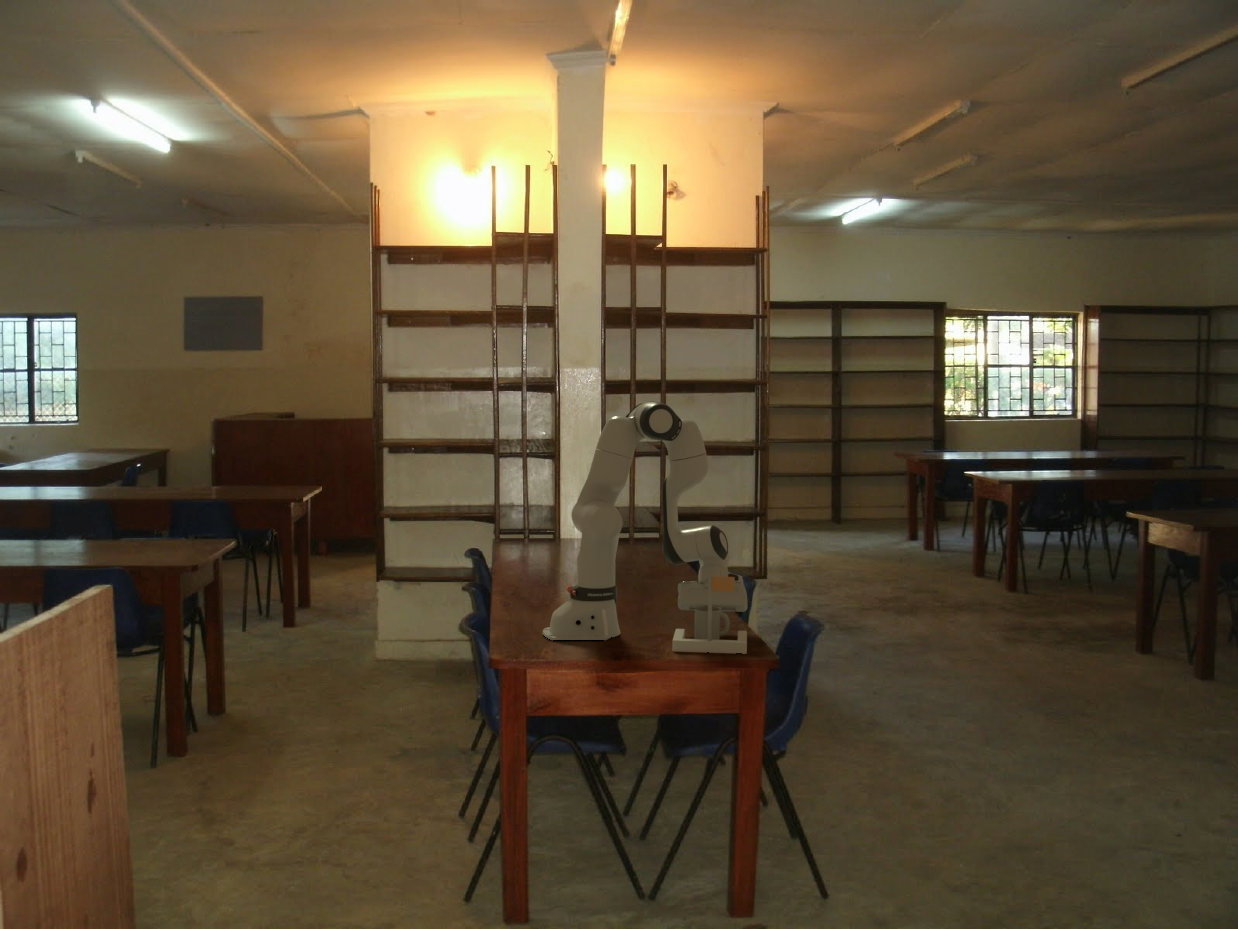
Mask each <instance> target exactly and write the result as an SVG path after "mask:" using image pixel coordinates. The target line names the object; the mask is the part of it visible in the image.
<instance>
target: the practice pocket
mask: <svg viewBox="0 0 1238 929" xmlns="http://www.w3.org/2000/svg"><path fill="white" fill-rule="evenodd" d="M734 586H735V577H714V576H712V574H709V575H708V639H695V638H685V637H686V629H685V628H675V631H674V633H673V638H672V642H671V644H672V645H671V646H672V648H671V650H672V652H681V653H705V654H706V653H707V652H709V653H710V654H712V653H713V654H736V653H742V655H743V654H744V655H746V654H747V653H748V652H747V650H748V649H747V648H748V647H747V646H748V631H747V630H738V631H737V639H736V640H735V639H733V640H732V639H719V640H712V591H715V592H734ZM707 654H708V653H707Z"/></svg>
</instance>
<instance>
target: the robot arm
mask: <svg viewBox="0 0 1238 929" xmlns="http://www.w3.org/2000/svg"><path fill="white" fill-rule="evenodd" d="M604 424H605V425H604V426H603V429H602V430H601V433H600V436H599V438H598V441H597V444H596V447H595V451H594V454H593V457H592V460H591V461H592V462H591V465H590V468H589V471H588V472H589V473H588V474H587V478H586V480H585V482H584V485H583V487H582V489H581V491H580V493H579V495H578V498H577V500H576V503H575V504H574V505H573V507H572V510H571V520H572V523H573V526H574V527H575V528H576V529H577V530H576V531H578V532H580V533H581V541H580V547H579V552H578V555H577V558H576V575H577V576H576V584H575V585H574V586H573V585H570V584H569V585H567V586H566V588H565V589H566V592H568V593H569V596H570V597H569V599H568V600H566V601H565V602H563V604H561V605H560V606H559V607H558V608H556V609H555V610H554V611H553V612H552V615H551V618H550V625H549V626H548V627H544V628H543V629H542V636H543V635H544V636H545V637H547V638H548V639H547V638H546V639H547V640H549V639H550V641H553V640H604V641H607V640H609V639H611V637H612V638H615V637H618V636H620V635H621V630H620V629H621V628H620V626H619V622H618V615H617V614H618V613H617V603H618V602H617V601H618V589H617V588H618V586H617V585H616V557H617V556H616V555H617V550H618V545H619V539H620V533H621V532H622V529H623V524H624V522H623V516H622V515H621V513H620V511H619V510H618V508H617V507H616V506H615V504H616V502H617V500H618V498H619V497H620V496H619V495H620V494H621V492H622V490H623V489H624V488H626V484H627V481H628V477H629V474H630V469H631V466H632V463H633V459H634V455H635V451H636V448H637V446H638V445H639V443H640V441H642V440H643V439H646V440H649V441H662V442H663V443H664V445H665V448H666V450H667V454H668V456H667V457H668V461H669V472H668V475H667V477H666V478H664V479H663V481H662V490H661V495H662V496H661V501H662V505H661V506H662V508H661V509H662V529H663V531H662V553H663V556H664V558H665V559H666V560H667V561H668V562H669V563H671V564H673V565H674V566H678V565H679V566H680V565H683V564H686V563H690V562H697V561H698V562H699V566H700V567H699V570H698V580H693V581H692V580H691V581H687V580H684V581H682V582H680V583H678V585H677V593H678V597H677V607H678V609H679V610H680V611H695V608H696V607H700V606H708V575H709V574H712V576H714V577H735V586H734V592H715V591H712V607H718V608H720V612H740V613H741V612H742V613H743V612H744V613H745V612H746V611H747V610H748V593H747V589H746V586H745V585H744V579H743V576H742V575H739V574H736V573H732V572H730V571H729V570H728V565H729V559H730V557H729V554H730V553H729V542H728V539H727V536H726V534H725V532H724V531H722V530H721V528H719V527H717V526H716V525H715V524H714V525H713V524H712V525H711V524H710V525H704V526H698V527H693V528H686V529H680V528H679V516H678V515H679V512H678V510H679V509H678V502H679V500H680V498H681V497H682V495H683V494H685V493H686V492H688V491H689V490H692V489H693V488H694V487H696V486H697V485H699V484H700V483H702V482H703V481H704V479H705V478H706V477H707V474H708V472H709V461H708V455H707V450H706V447H705V442H704V439H703V436H702V433H701V430H700V429H699V425H698V424H697V422H695V421H694V420H692V419H690V418H680V416H678V414H677V413H676V412H675V411H674V410H673V409H672V408H671V406H669V405H668V404H666V403H663V402H660V401H659V402H658V401H655V400H654V401H653V400H652V401H645V402H641V403H638V404H637V405H635V406H634V407H633V408H632V409H631V411H629V413H627V414H626V416H622V415H616V416H611V417H610V418H608V420H607V421H606V423H604ZM544 636H543V637H544ZM545 637H544V638H545Z"/></svg>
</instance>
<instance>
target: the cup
mask: <svg viewBox="0 0 1238 929" xmlns="http://www.w3.org/2000/svg"><path fill="white" fill-rule="evenodd" d="M721 619H723V628H722V629H721ZM693 625H694V626H693V627H694V635H693V636H694V638H693V639H708V606H700V607H696V608H695V610H694V624H693ZM730 625H731V621H730V617H729V615H728V614H727V613H726V612H724V611H721V612H720V608H718V607H712V640H721V639H720V637H721V636H725V635H726V634H727V633H728V632H729V630H730V627H731V626H730Z"/></svg>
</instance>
